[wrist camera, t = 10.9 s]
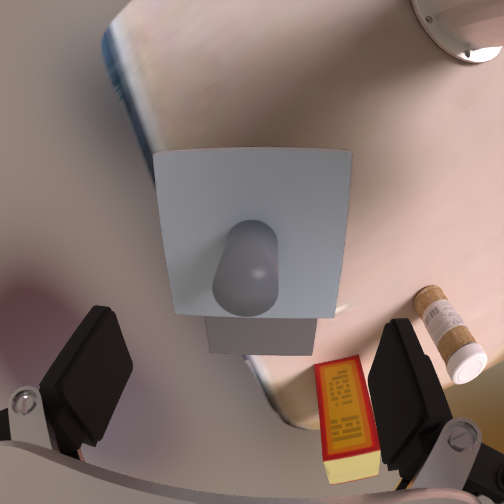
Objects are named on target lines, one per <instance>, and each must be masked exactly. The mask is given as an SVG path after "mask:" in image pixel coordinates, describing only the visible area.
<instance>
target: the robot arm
mask: <svg viewBox="0 0 504 504" xmlns="http://www.w3.org/2000/svg"><path fill="white" fill-rule="evenodd" d="M411 1H412V4H413V8H414V11H415V13H416V15H417V17H418V20H419V21H420V23H421V25H422V26H423V28H424V30H425V31H426V32H427V33H428V35H429V36H430V37H431V38H432V40H433V41H434V42H435V43H436V44H437V45H438V46H439V47H441V48H442V49H443V50H445V51H446V52H447V53H448V54H450V55H452V56H454V57H455V58H457V59H460V60H462V61H465V62H470V63H482V62H487V61H490V60H491V59H493V58H494V57H495V56H496V55H497V54H498V53H499V51H500V50H501V47H503V46H504V0H411ZM426 20H427V21H426ZM132 369H133V363H132V360H131V357H130V355H129V352H128V349H127V346H126V344H125V341H124V338H123V335H122V333H121V330H120V326H119V324H118V320H117V317H116V314H115V313H114V312H113V311H112V310H111V309H110V307H105V306H97V305H96V306H93V307H92V309H91V310H90V312H89V313H88V314H87V315H86V317H85V318H84V319H83V321H82V322H81V324H80V325H79V327H78V328H77V329H76V331H75V332H74V333H73V335H72V336H71V338H70V339H69V341H68V342H67V343H66V345H65V346H64V348H63V349H62V351H61V352H60V354H59V355H58V357H57V358H56V360H55V361H54V363H53V364H52V366H51V367H50V369H49V370H48V372H47V373H46V375H45V376H44V378H43V380H42V381H41V383H40V384H39V385H40V389H39V391H38V390H37V389H36V388H34V387H31V386H25V387H22V388H20V389H17V390H16V391H15V392H14V393H13V394H12V396H11V397H10V399H9V402H8V408H6V409H4V410H2V411H0V504H504V454H502V453H500V452H498V451H496V450H494V449H493V448H490V447H489V446H487V445H485V444H483V443H482V442H481V441H482V436H481V431H480V429H479V427H478V426H477V425H476V424H475V422H473V421H471V420H470V419H467V418H464V417H457V418H454V419H453V417H452V414H451V411H450V408H449V406H448V403H447V400H446V397H445V395H444V392H443V389H442V387H441V384H440V382H439V379H438V377H437V374H436V372H435V369H434V367H433V364H432V362H431V360H430V358H429V356H427V355H425V354H424V352H423V350H422V347H421V345H420V343H419V340H418V338H417V336H416V333H415V331H414V329H413V327H412V325H411V322H410V320H409V319H408V318H400V319H392V320H391V321H390V323H386V325H385V327H384V330H383V334H382V337H381V340H380V343H379V346H378V349H377V352H376V355H375V358H374V361H373V364H372V367H371V369H370V372H369V375H368V387H369V392H370V396H371V401H372V406H373V411H374V417H375V422H376V427H377V433H378V439H379V444H380V450H381V457H382V462H383V463H384V464H387V466H388V471H392V470H398V469H399V474H400V477H401V479H400V480H399V482H398V483H397V485H396V486H395V488H394V489H393V491H387V492H380V493H372V494H363V495H353V496H340V497H324V498H263V497H246V496H234V495H225V494H216V493H209V492H202V491H195V490H189V489H183V488H178V487H173V486H168V485H163V484H159V483H154V482H150V481H145V480H141V479H138V478H134V477H130V476H127V475H123V474H120V473H116V472H113V471H109V470H106V469H103V468H100V467H97V466H94V465H91V464H88V463H86V462H85V460H84V457H83V454H82V452H81V448H80V447H81V445H82V443H85V444H87V445H90V446H94V447H95V446H96V444H97V442H98V441H100V440H101V439H102V438H103V436H104V433H105V431H106V428H107V426H108V424H109V421H110V419H111V417H112V415H113V412H114V410H115V407H116V405H117V403H118V401H119V399H120V396H121V394H122V392H123V390H124V387H125V385H126V383H127V381H128V379H129V377H130V374H131V372H132Z"/></svg>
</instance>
